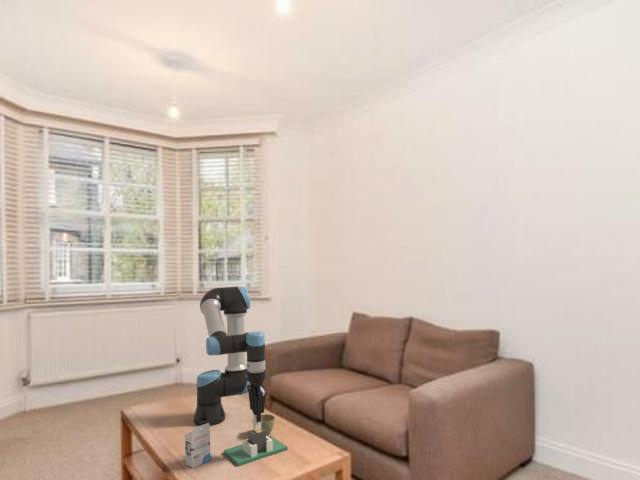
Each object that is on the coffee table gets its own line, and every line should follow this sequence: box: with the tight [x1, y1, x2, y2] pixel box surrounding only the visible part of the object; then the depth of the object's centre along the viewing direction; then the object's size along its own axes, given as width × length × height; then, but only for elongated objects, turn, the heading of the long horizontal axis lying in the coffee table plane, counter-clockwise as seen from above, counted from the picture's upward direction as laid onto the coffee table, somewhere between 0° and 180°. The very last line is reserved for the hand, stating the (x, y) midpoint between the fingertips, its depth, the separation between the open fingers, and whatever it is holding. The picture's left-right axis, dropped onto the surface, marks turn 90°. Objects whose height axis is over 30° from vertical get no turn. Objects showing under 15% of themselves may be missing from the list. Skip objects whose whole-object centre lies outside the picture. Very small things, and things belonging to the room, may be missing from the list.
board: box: [223, 435, 289, 467], centre depth 176 cm, size 14×22×5 cm, turn 126°
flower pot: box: [252, 413, 276, 437], centre depth 193 cm, size 10×10×7 cm
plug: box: [247, 428, 266, 453], centre depth 174 cm, size 4×6×8 cm, turn 127°
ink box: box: [184, 423, 211, 469], centre depth 168 cm, size 8×5×15 cm, turn 140°
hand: (257, 429), depth 175 cm, fingers closed
